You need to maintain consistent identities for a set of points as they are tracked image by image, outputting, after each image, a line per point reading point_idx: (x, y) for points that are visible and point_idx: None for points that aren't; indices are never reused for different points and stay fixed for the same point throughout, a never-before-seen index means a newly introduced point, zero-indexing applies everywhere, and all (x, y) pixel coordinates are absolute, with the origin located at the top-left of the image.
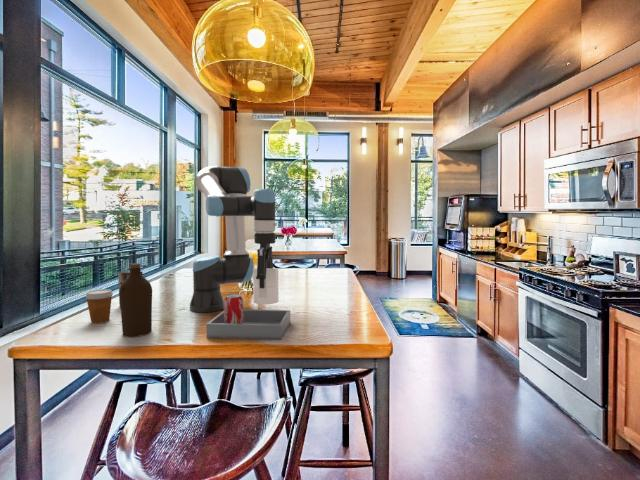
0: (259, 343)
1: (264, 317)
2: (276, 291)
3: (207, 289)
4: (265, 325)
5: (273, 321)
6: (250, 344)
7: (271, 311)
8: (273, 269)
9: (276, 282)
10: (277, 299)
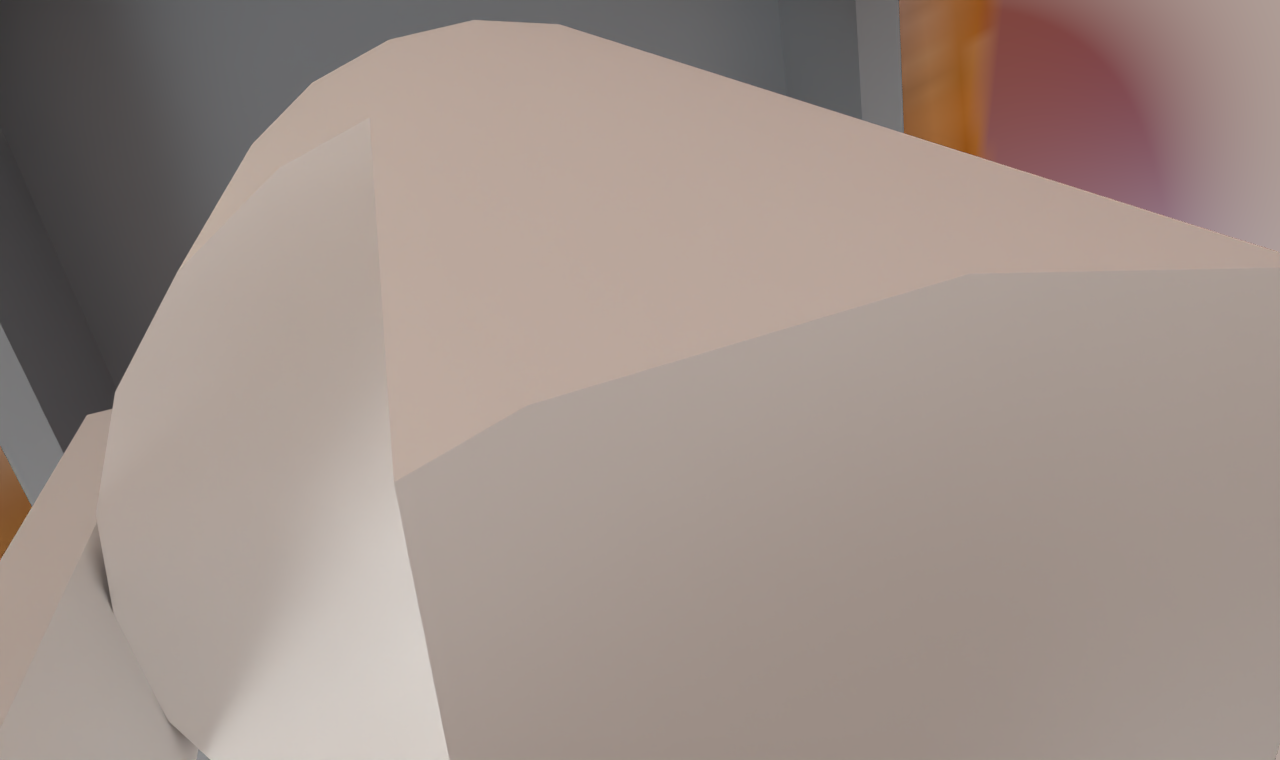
0: (934, 53)
1: (98, 407)
2: (635, 51)
3: None
4: (899, 47)
5: (65, 238)
6: (972, 143)
7: (12, 332)
8: (1192, 602)
9: (748, 85)
10: (518, 26)
